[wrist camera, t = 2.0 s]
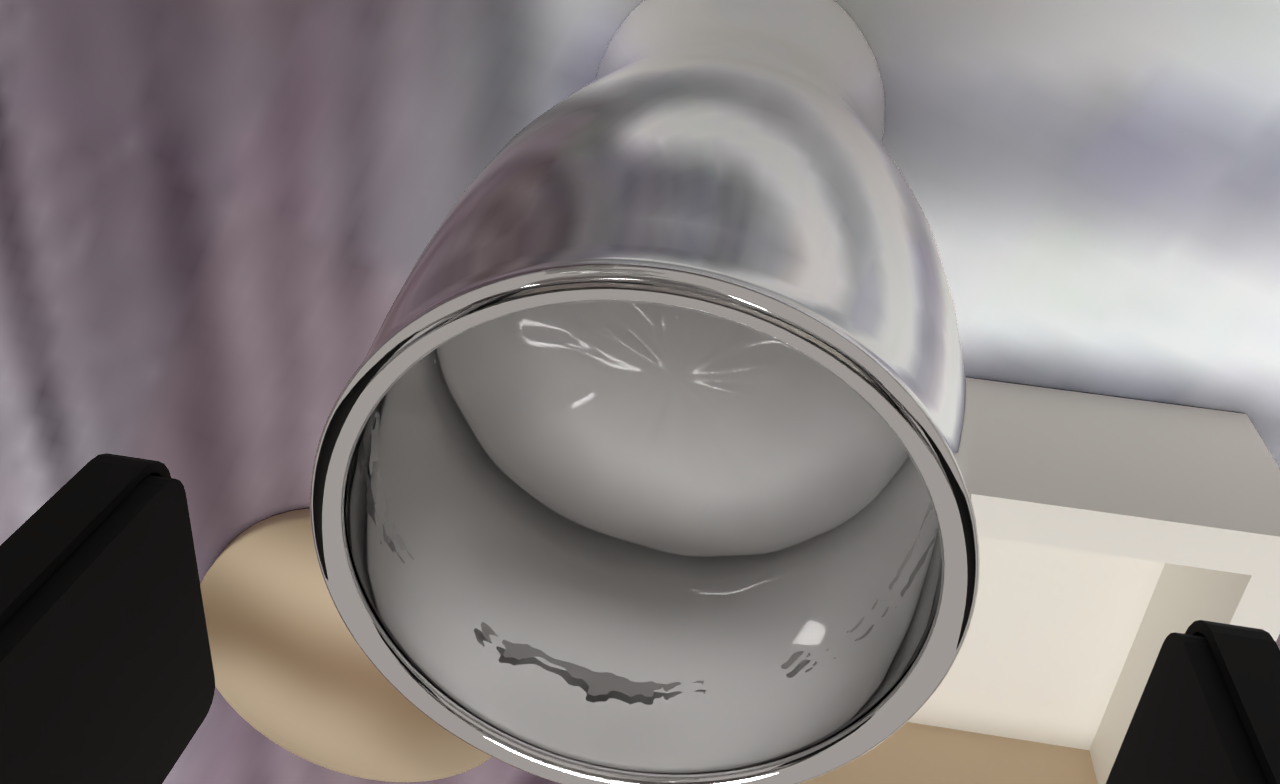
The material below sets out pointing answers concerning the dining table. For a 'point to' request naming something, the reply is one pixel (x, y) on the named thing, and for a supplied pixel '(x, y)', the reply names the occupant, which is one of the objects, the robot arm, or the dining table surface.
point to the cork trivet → (312, 664)
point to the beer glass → (668, 425)
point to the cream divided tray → (1086, 579)
